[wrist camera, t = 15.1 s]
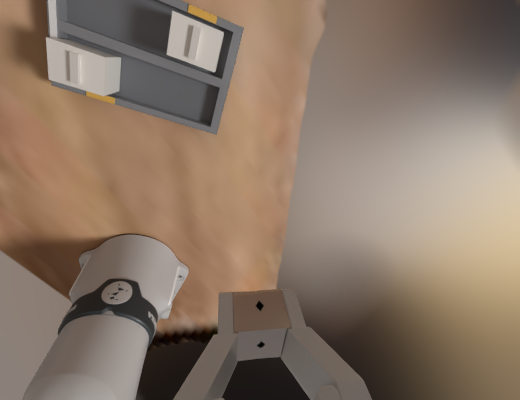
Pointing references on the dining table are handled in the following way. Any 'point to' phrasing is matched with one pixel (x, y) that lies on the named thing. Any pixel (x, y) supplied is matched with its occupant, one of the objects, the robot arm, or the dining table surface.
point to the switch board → (150, 56)
